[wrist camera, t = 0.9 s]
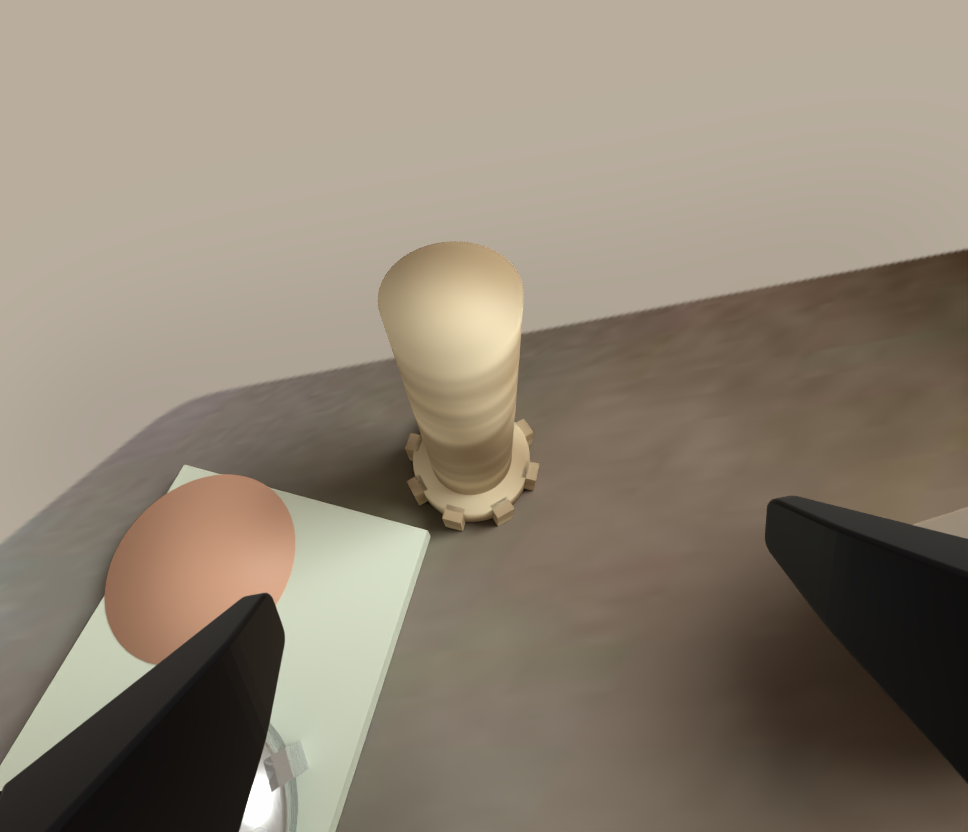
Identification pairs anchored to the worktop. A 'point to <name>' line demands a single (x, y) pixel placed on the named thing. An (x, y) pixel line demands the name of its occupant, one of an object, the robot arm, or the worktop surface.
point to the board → (221, 583)
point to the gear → (275, 787)
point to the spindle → (461, 378)
